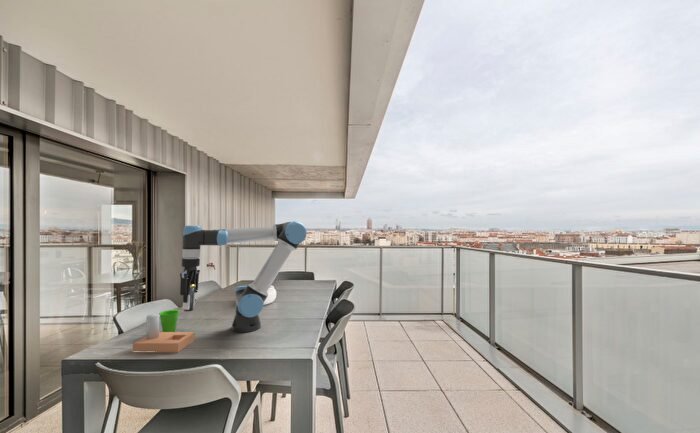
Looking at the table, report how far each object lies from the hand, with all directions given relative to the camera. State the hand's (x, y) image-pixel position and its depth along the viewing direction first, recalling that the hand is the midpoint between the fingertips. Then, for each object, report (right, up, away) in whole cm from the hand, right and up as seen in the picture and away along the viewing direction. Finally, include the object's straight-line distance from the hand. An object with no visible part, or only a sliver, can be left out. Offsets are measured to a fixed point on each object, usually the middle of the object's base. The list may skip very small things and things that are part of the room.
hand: (188, 307), depth 139 cm
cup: (-18, -18, +14) cm, 29 cm away
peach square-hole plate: (-10, -17, -2) cm, 20 cm away
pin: (0, -1, 0) cm, 1 cm away
